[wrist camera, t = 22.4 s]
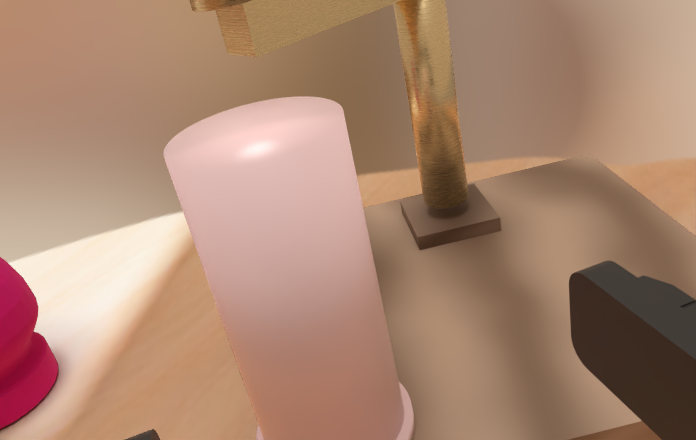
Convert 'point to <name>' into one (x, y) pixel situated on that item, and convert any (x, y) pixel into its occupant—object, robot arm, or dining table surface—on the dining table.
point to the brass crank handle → (417, 57)
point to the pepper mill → (21, 349)
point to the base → (515, 299)
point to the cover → (292, 268)
